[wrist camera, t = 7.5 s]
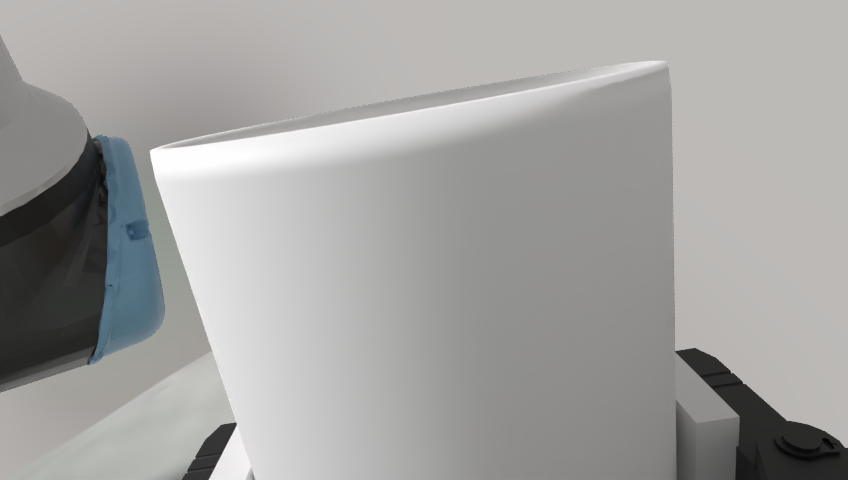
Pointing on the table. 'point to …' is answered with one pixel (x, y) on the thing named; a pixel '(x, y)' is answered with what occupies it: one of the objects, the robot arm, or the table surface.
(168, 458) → the table surface
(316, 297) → the cup
